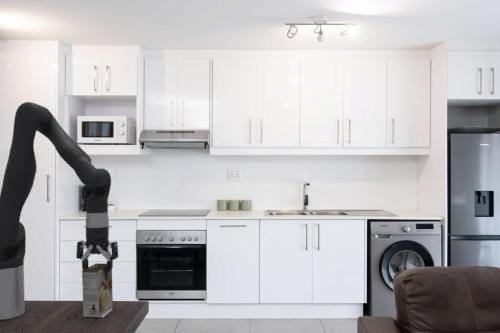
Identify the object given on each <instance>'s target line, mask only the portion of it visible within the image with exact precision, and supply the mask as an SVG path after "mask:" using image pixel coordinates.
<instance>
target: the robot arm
mask: <svg viewBox="0 0 500 333" xmlns="http://www.w3.org/2000/svg"><path fill="white" fill-rule="evenodd" d="M15 111H16V112H15V115H14V119H13V120H14V121H13V130H12V131H13V132H12V139H11V144H10V148H9V154H8V158H7V163H6V166H5V171H4V174H3V179H2V185H1V189H0V321H2V320H11V319H14V318H18V317H20V316H22V315H24V313H25V312H26V310H25V306H26V304H25V267H24V262H25V261H24V260H25V256H26V246H27V245H26V241H27V240H26V238H27V237H26V228H25V226H24V224H23V223H22V222H21V221H20V220H21V216H22V215H21V214H22V210H23V208H24V206H25V204H26V201H27V200H28V198H29V196H30V194H31V192H32V189H33V187H34V184H35V183H34V182H35V178H36V174H37V160H36V155H35V154H36V153H35V150H34V147H35V146H34V144H35V137H36V133H37V132H38V133H40V134H41V135H42V136H44V137H46V138H47V139H48V141H50V142H51V145H53V146H54V148H55V150H56V152H57V154H58V155H59V157H60V158H61V159H62V160H63V161H64V162H65V163H66V164H67V165H68V166H69V167H70V168H71V169H72V170H74V173H75V174H76V176H77V178H78V179H79V180H80V182H81V183H82V184H83V185H84V186H85V187H86V188H88V189H91V193H90V195H89V196H88V197H87V198H86V204H85V205H86V212H85V213H86V215H85V241H84V240H83V239H82V240H79V241H77V243H76V259H77V260H79V259H80V260H81V269H82V270H84V269H86V268H88V267H89V259H88V258H90V256H91V255H102V257H104V258H105V260H106V264H107V272H110V271H111V270H112V271H113V268H114V267H113V266H114V260H116V259H118V258H119V249H118V248H119V245H118V244H119V243H118V241H109V236H110V233H109V228H110V227H109V226H110V221H109V203H108V202H109V196H110V192H111V186H112V178H111V177H112V176H111V173H110V172H109V171H108V170H107V169H105V168H97V167H95V166H94V165H93V164H92V158H91V157H90V155H89V154H87V153H86V151H85V150H84V149H82V147H80V146H79V145H78V144H77V143H76V142H75V141H74V139H73V138H71V136H69V134H68V132H66V131H65V130H64V128H62V126H61V124H60V123H59V122H58V120H57V119H56V118H55V116H54V115H53V113H52V112H51V111H50V109H48V108H47V107H45V106H43V105H41V104H37V103H35V102H31V101H26V102H23V103H21V104H20V105H19V106H18V108H17V109H16V110H15ZM85 247H86V248H87V249H86V251H85V252H84V250H85ZM109 248H110V249H111V251H110V249H109Z"/></svg>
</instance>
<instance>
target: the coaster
mask: <svg viewBox="0 0 500 333" xmlns="http://www.w3.org/2000/svg"><path fill="white" fill-rule="evenodd" d="M112 311H113V307H112V308H111V309H109V310H108V311H107V312H105V313H104V314H103V315H101V316H100V317H99V318H104V317H105V316H107V315H108V314H109V313H110V312H112ZM83 317H84V318H94V317H93V316H83Z"/></svg>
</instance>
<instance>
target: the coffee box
mask: <svg viewBox="0 0 500 333" xmlns="http://www.w3.org/2000/svg"><path fill="white" fill-rule="evenodd" d="M81 278H82V282H81V283H82V313H83V315H82V316H83V317H84V316H93V317H92V318H101V317H100V316H101V315H103V314H104V313H105V312H107V311H108V310H109V309H111V308H113V307H114V305H113V304H114V302H113V301H114V300H113V299H114V298H113V297H114V296H113V269H112V270H111V271H110V272H107V263H95V264H92V265H90V266H88V268H86V269H84V270H83V269H82V270H81Z"/></svg>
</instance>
